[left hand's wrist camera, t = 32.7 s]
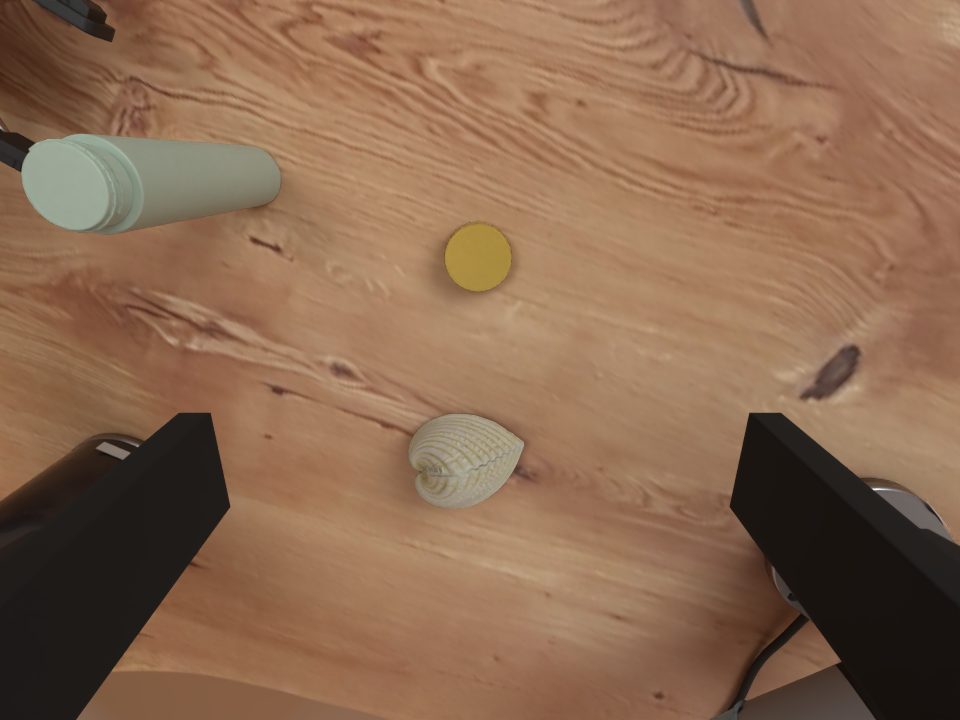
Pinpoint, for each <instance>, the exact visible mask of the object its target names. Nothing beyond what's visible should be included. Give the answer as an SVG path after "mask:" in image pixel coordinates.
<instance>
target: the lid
mask: <svg viewBox="0 0 960 720" xmlns="http://www.w3.org/2000/svg"><path fill="white" fill-rule="evenodd" d="M449 239H450V240H449V242H448V243H447V244H446V251H445V253H444V255H445V265H446V268H447V271H448V273H449V275H450V277H451V278H452V279H453V280H454V281H455V283H457V284H458V285H459V286H461V287H462V288H465V289H467V290H470V291H486V290H489V289H492V288H494V287H496V286H497V285H498V284H500V283H501V282H502V281H503V279H504V278H505V277H506V275H507V274H508V271H509V270H510V265H511V262H512V260H511V254H512V252H511V250H510V247H509V246H510V244H509V242H507V240H506V236H505V235H503V233H502V232H501V230H500V229H497V228H496V227H494V225H490V224H488V223H486V222H485V223H484V222H478V221H477V222H472V223H470V222H469V223H468V224H466V225H464V226H463V225H461V227H460V228H459V229H458V230H455V232H454V234H453V235H452V236H450V238H449Z"/></svg>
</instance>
